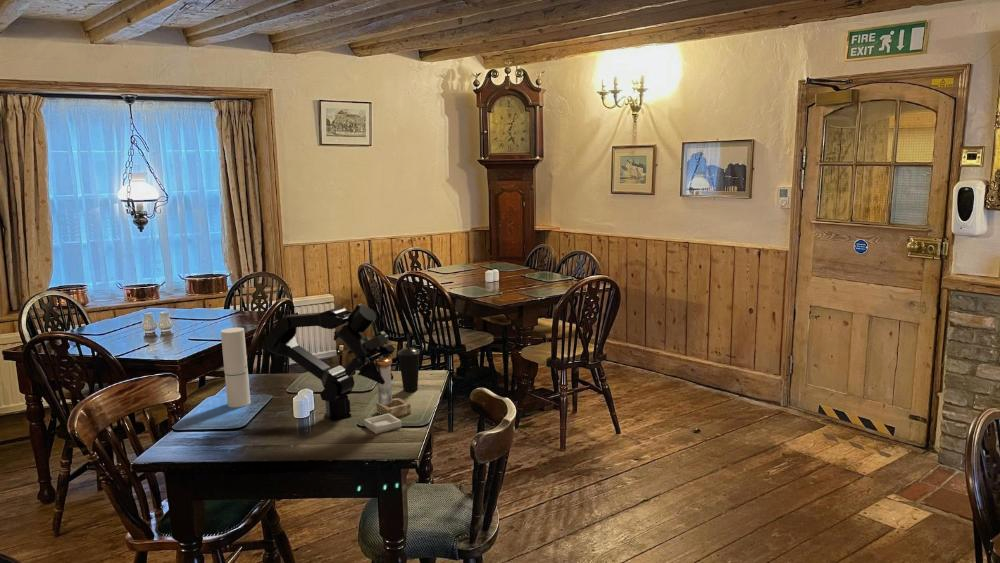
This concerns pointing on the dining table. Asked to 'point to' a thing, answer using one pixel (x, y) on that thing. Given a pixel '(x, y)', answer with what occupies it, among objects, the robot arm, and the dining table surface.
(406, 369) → the drinking cup
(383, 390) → the copper-capped peg
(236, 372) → the cylindrical container
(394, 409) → the socket block
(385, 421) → the tray
